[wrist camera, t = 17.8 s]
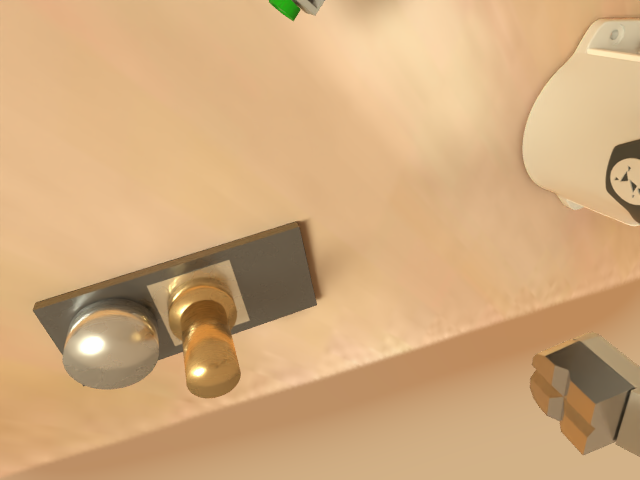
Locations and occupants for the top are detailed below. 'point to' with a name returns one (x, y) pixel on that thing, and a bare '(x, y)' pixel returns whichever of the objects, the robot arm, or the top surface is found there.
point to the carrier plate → (152, 305)
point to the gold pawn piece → (206, 335)
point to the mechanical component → (296, 7)
